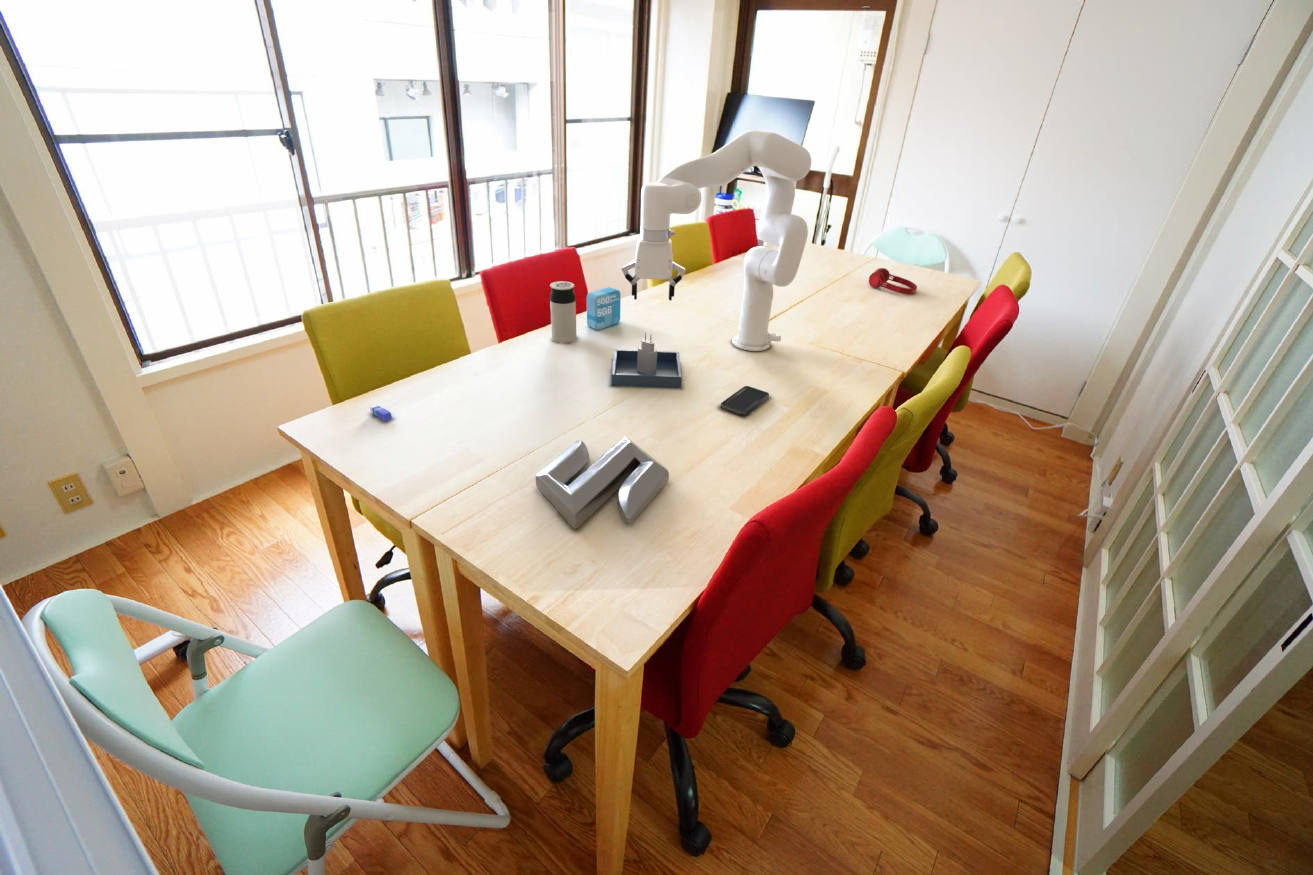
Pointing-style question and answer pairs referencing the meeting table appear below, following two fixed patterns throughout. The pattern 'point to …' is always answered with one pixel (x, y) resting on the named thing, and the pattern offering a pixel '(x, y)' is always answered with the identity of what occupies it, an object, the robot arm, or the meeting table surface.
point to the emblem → (601, 481)
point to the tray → (630, 377)
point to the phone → (744, 401)
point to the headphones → (883, 276)
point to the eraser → (380, 412)
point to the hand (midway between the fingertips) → (652, 298)
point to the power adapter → (647, 357)
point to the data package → (603, 308)
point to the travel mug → (563, 312)
